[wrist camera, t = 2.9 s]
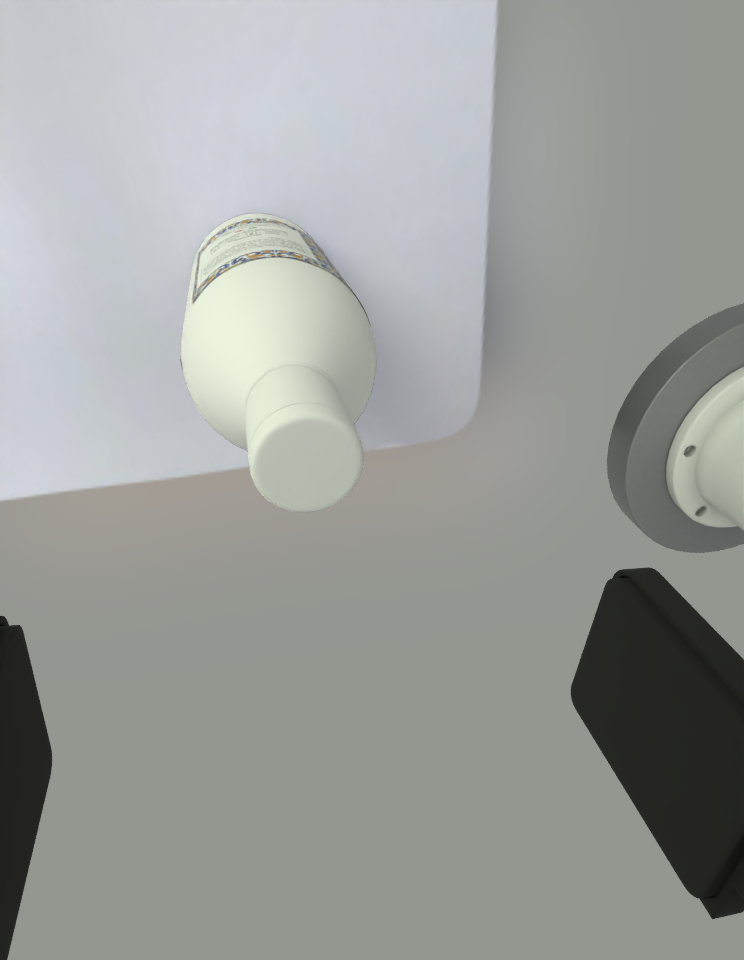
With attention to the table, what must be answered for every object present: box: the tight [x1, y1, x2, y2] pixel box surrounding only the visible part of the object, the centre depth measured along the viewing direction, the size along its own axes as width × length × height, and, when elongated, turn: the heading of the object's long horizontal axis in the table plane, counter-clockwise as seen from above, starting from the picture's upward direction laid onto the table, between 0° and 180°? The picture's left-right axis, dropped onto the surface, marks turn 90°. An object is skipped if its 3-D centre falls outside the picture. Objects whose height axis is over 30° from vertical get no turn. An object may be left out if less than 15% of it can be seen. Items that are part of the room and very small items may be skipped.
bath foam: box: [180, 213, 376, 512], centre depth 24 cm, size 7×7×20 cm
